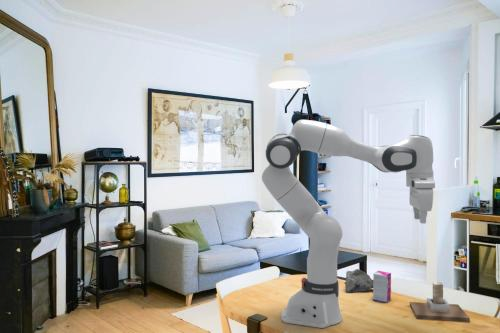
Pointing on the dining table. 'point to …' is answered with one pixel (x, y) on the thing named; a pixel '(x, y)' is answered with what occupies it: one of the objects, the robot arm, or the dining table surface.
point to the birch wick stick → (437, 293)
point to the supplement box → (381, 286)
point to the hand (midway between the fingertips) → (419, 221)
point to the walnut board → (424, 313)
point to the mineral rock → (358, 281)
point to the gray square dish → (438, 306)
